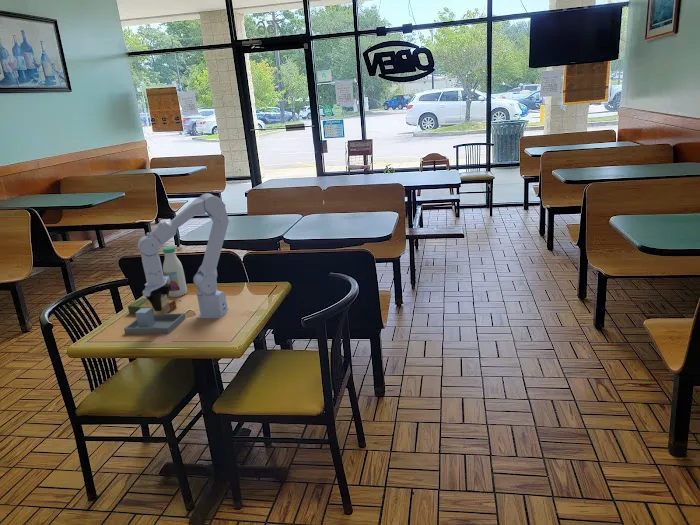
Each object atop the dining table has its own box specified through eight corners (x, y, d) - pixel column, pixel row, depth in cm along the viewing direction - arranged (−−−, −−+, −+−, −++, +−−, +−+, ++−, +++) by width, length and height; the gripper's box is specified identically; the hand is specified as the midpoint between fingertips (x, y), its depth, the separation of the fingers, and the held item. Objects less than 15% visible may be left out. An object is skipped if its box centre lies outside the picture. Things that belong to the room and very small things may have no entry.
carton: (162, 318, 192) (160, 308, 190) (129, 315, 197) (126, 305, 196) (177, 309, 199) (175, 299, 198) (144, 307, 205) (142, 297, 203)
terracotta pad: (180, 335, 175) (180, 334, 175) (170, 345, 169) (169, 343, 169) (161, 335, 177) (161, 334, 176) (150, 345, 170) (150, 343, 170)
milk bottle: (179, 289, 220) (170, 244, 214) (191, 292, 215) (182, 246, 209) (164, 296, 214) (154, 249, 208) (175, 298, 209) (166, 251, 203)
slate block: (155, 323, 186) (151, 308, 184) (149, 328, 182) (145, 312, 180) (144, 323, 186) (141, 308, 185) (138, 328, 183) (135, 312, 181)
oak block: (170, 310, 183) (166, 293, 181) (164, 314, 179) (160, 298, 177) (160, 310, 184) (156, 294, 182) (154, 315, 180) (150, 298, 178)
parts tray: (185, 319, 188) (184, 313, 187) (169, 335, 176) (167, 328, 176) (144, 319, 191) (143, 313, 190) (125, 335, 179) (123, 328, 179)
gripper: (153, 264, 184) (161, 300, 188) (130, 278, 171) (139, 316, 175) (172, 263, 183) (179, 299, 187) (150, 278, 169) (159, 316, 174)
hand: (161, 307), depth 181 cm, fingers closed on oak block, 4 cm apart
